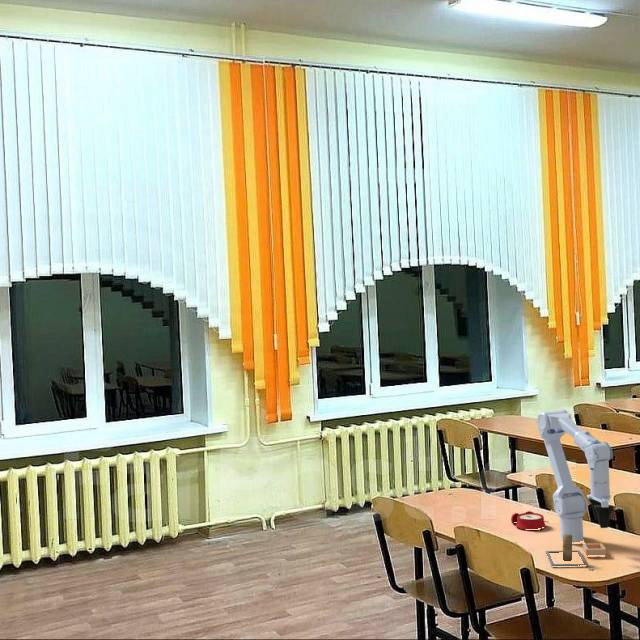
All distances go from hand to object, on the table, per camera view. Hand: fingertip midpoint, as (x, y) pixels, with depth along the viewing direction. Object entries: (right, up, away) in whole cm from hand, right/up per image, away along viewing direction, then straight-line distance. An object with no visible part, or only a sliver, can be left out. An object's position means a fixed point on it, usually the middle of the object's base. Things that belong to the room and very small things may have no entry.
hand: (601, 524), depth 268 cm
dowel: (-12, -11, -4) cm, 16 cm away
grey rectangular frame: (-12, -11, -2) cm, 16 cm away
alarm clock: (-14, -10, +38) cm, 41 cm away
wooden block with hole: (-2, -10, +1) cm, 11 cm away
